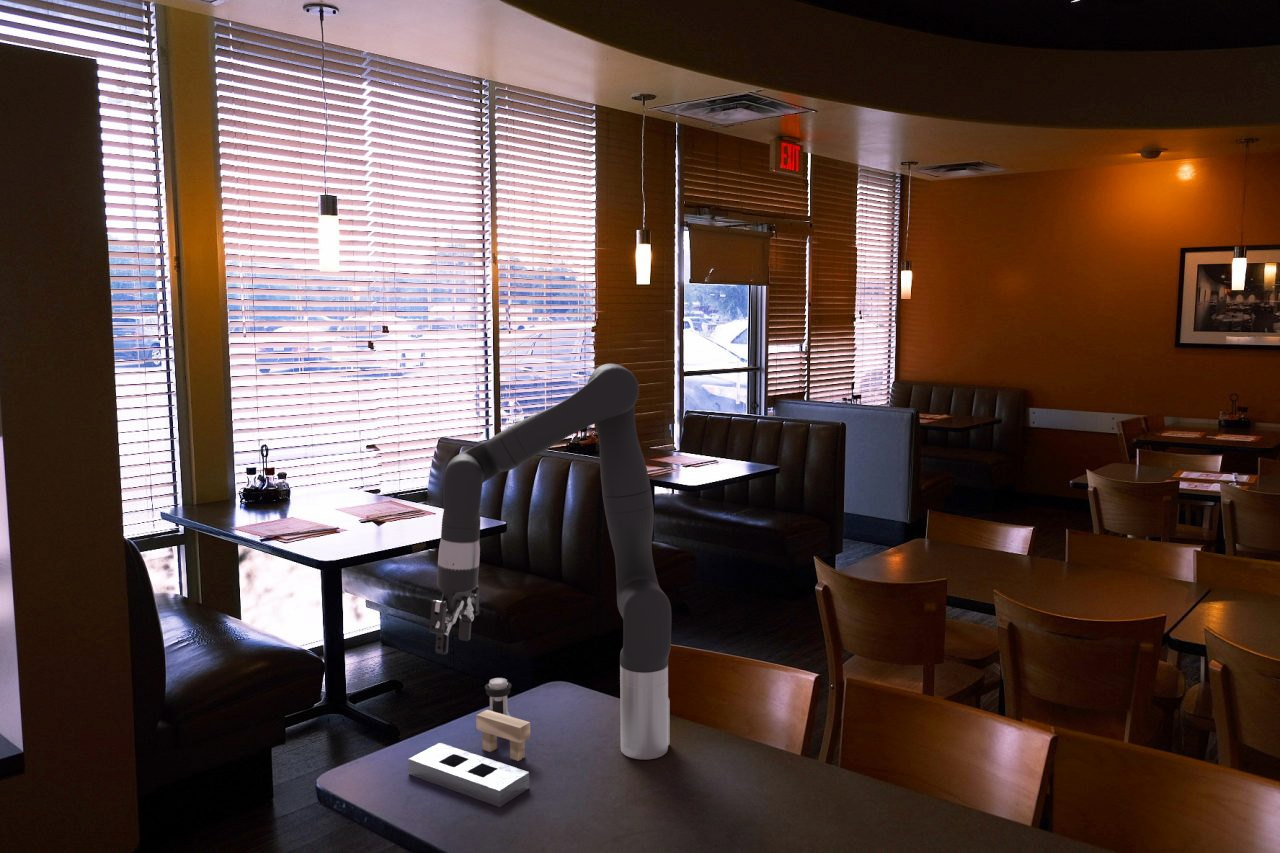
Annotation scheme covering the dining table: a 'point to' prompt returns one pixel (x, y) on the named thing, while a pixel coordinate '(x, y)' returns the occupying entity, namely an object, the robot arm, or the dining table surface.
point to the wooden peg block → (503, 732)
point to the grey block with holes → (469, 774)
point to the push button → (498, 695)
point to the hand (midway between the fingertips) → (453, 646)
